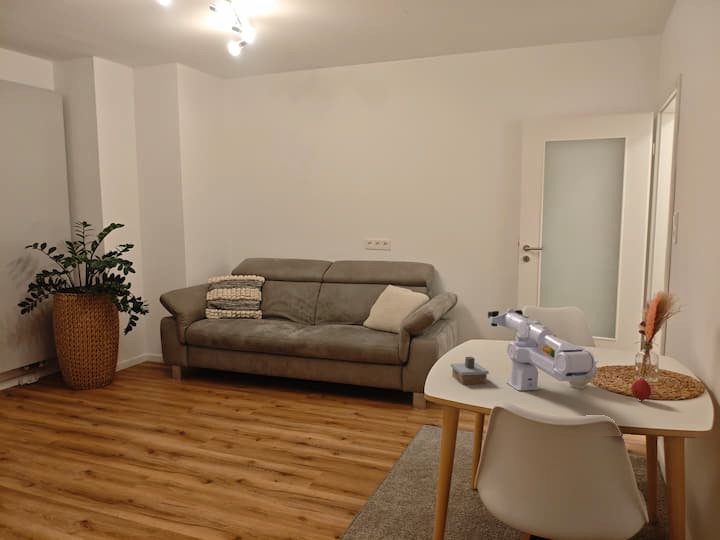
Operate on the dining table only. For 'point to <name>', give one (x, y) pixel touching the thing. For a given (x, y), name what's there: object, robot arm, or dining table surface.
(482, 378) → the walnut box
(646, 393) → the onion
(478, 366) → the slate lid
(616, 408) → the dining table surface
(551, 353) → the crayon box
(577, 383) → the teacup
